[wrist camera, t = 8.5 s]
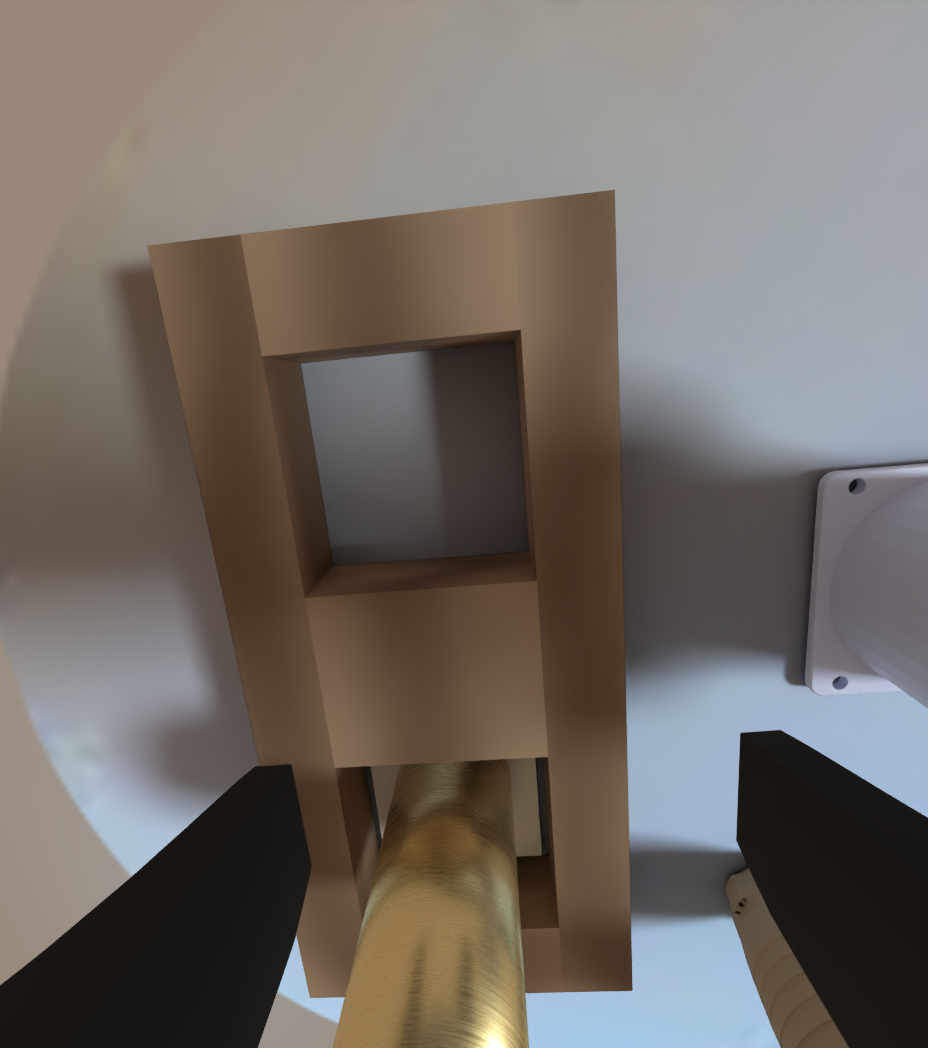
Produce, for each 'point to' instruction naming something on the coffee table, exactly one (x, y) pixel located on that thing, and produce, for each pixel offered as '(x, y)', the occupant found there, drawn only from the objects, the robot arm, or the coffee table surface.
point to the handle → (778, 972)
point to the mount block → (429, 584)
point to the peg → (441, 918)
